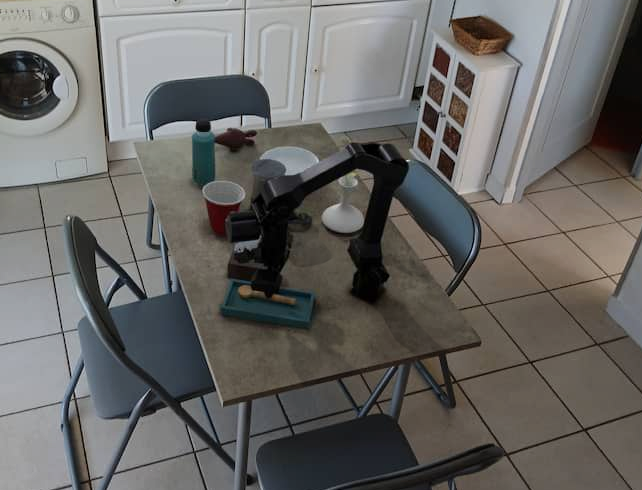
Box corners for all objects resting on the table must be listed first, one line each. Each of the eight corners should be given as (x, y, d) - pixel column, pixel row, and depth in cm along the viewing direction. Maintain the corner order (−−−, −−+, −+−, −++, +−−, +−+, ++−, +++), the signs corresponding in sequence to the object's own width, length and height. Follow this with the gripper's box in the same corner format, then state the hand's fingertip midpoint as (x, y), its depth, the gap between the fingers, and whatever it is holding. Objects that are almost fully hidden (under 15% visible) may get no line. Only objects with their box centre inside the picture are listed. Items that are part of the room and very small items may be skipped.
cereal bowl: (299, 161, 223) (300, 140, 219) (328, 189, 212) (330, 169, 208) (248, 173, 215) (249, 152, 211) (276, 204, 204) (277, 183, 200)
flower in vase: (369, 234, 197) (383, 154, 182) (328, 239, 193) (339, 158, 179) (353, 206, 207) (364, 127, 192) (314, 210, 203) (322, 131, 189)
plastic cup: (251, 234, 192) (253, 197, 185) (213, 246, 187) (213, 207, 180) (232, 212, 199) (233, 175, 192) (195, 222, 194) (195, 184, 187)
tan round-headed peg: (297, 299, 173) (240, 287, 175) (297, 294, 172) (240, 282, 174) (293, 309, 170) (236, 297, 172) (294, 305, 169) (236, 292, 171)
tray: (314, 298, 175) (315, 292, 173) (308, 328, 166) (309, 322, 165) (230, 285, 176) (231, 278, 175) (220, 314, 168) (220, 307, 167)
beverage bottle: (220, 182, 210) (221, 120, 198) (205, 193, 205) (205, 130, 194) (202, 174, 213) (201, 112, 201) (186, 184, 208) (185, 122, 196)
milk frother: (245, 205, 202) (247, 159, 194) (301, 200, 207) (305, 155, 198) (256, 237, 191) (259, 190, 183) (315, 231, 196) (320, 185, 187)
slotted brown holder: (273, 268, 182) (274, 254, 180) (269, 284, 177) (270, 269, 175) (233, 261, 183) (233, 247, 180) (227, 277, 178) (227, 263, 175)
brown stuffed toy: (213, 140, 216) (261, 138, 222) (207, 123, 220) (254, 120, 226) (209, 157, 221) (256, 154, 227) (203, 139, 225) (250, 137, 231)
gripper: (247, 204, 167) (244, 257, 176) (227, 256, 152) (226, 311, 161) (295, 212, 166) (290, 265, 175) (281, 264, 151) (276, 319, 160)
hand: (270, 289), depth 168 cm, fingers open, 6 cm apart
